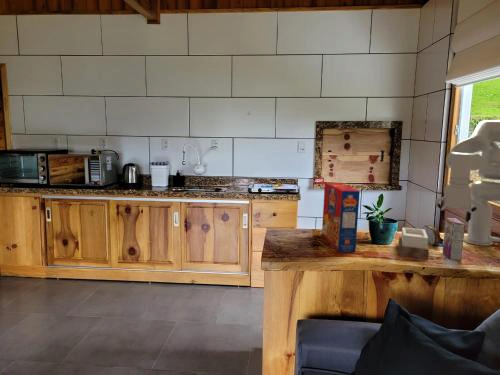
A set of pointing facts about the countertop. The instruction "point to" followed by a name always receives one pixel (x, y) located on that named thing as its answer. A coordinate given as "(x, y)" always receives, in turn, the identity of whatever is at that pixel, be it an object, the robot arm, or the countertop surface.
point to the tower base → (412, 251)
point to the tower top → (414, 238)
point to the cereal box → (340, 216)
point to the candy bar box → (453, 238)
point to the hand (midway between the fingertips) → (454, 220)
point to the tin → (432, 234)
